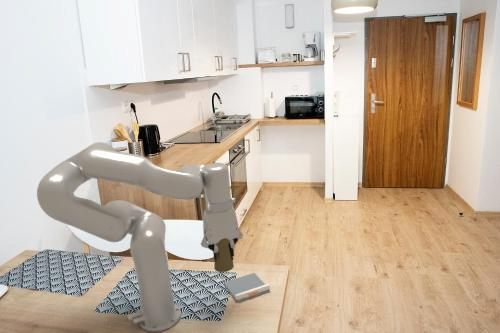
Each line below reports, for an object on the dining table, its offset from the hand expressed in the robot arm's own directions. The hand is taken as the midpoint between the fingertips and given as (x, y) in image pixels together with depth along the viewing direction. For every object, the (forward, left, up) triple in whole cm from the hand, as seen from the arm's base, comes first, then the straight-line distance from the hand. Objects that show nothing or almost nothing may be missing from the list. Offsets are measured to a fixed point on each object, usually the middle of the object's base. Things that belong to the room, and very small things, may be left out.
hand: (224, 259), depth 122 cm
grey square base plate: (+9, +7, -17) cm, 21 cm away
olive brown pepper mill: (0, 0, -3) cm, 3 cm away
